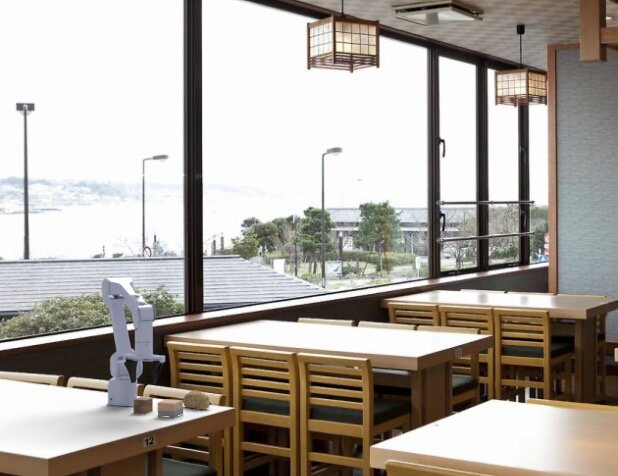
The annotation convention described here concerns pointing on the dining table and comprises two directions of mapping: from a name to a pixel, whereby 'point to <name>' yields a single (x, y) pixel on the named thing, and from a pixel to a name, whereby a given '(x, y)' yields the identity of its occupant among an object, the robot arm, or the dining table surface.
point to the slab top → (170, 405)
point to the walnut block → (143, 405)
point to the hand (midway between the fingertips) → (143, 383)
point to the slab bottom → (170, 413)
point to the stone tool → (196, 400)
